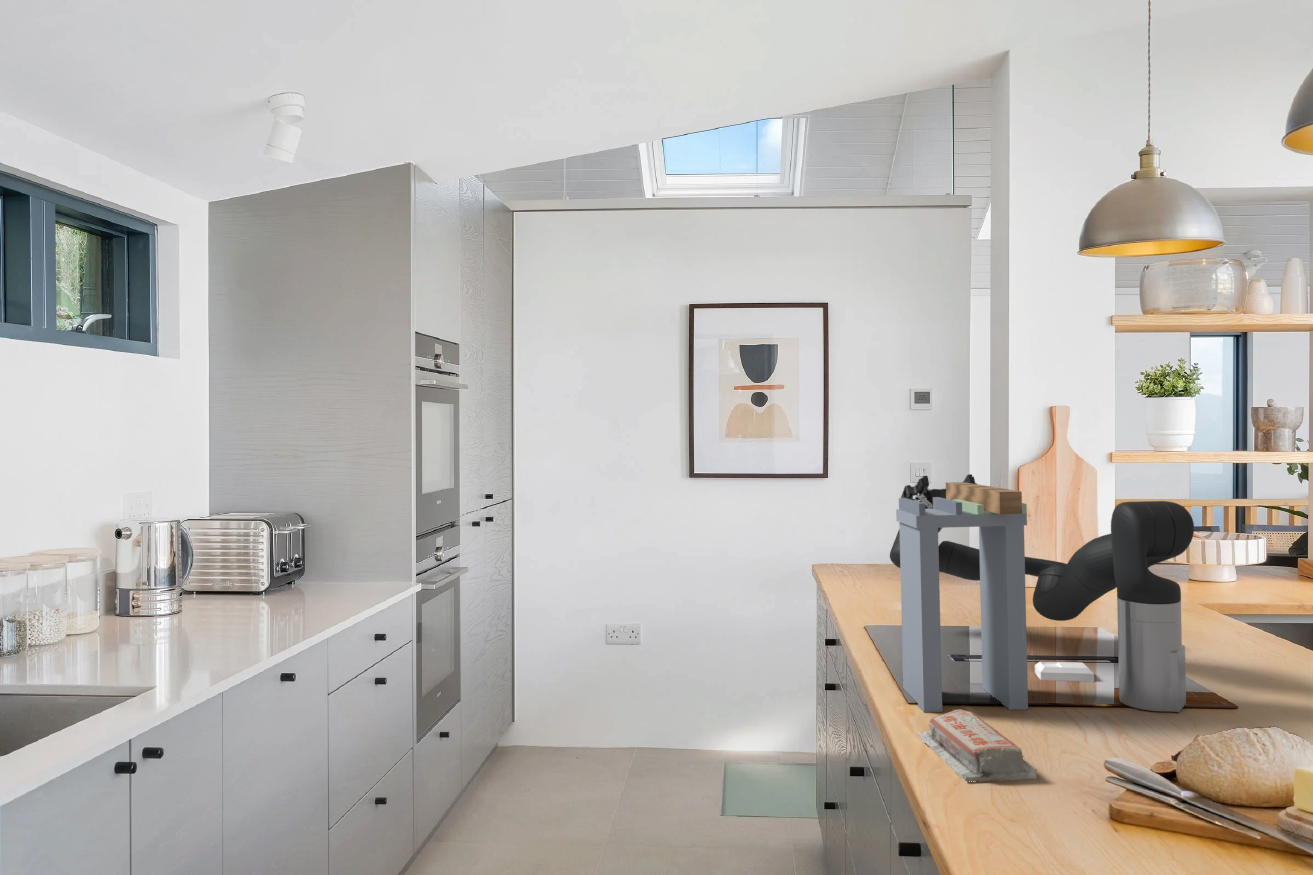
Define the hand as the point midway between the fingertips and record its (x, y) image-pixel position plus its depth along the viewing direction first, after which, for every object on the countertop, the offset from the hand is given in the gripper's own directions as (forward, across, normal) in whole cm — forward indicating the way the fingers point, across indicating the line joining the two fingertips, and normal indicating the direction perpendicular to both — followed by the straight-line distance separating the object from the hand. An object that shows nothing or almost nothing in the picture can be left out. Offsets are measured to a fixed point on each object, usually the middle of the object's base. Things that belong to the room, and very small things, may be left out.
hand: (948, 479), depth 172 cm
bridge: (-1, -5, +41) cm, 42 cm away
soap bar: (-12, +18, +36) cm, 42 cm away
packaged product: (+21, -12, +55) cm, 60 cm away
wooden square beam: (+12, 0, +12) cm, 17 cm away
